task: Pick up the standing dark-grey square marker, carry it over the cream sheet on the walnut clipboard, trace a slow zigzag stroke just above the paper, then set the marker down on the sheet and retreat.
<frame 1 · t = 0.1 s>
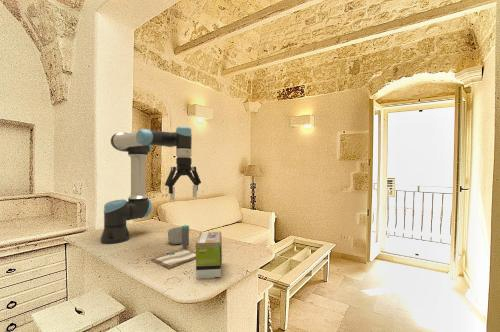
hand: (184, 198, 122), 28 cm above the worktop, fingers open, 13 cm apart
clipboard: (177, 258, 115), on the worktop
marker: (185, 248, 129), on the worktop
tea box: (209, 271, 102), on the worktop
teacup: (178, 242, 140), on the worktop
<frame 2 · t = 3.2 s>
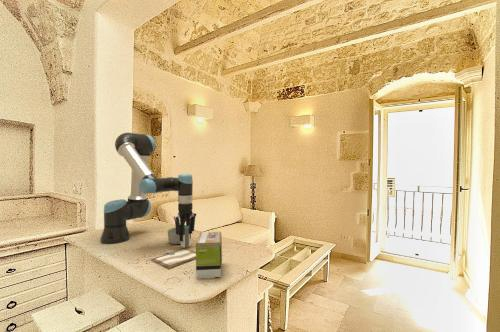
hand: (185, 246, 129), 1 cm above the worktop, fingers closed on marker, 3 cm apart
marker: (185, 247, 129), on the worktop, touching gripper
everything else where it was.
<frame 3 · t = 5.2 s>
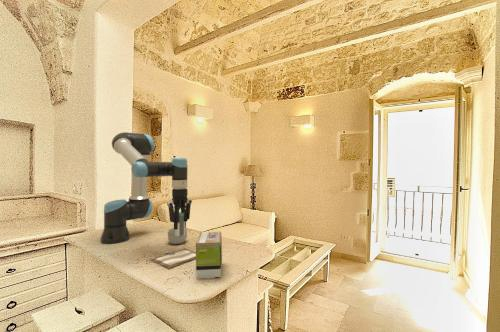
hand: (180, 234, 120), 10 cm above the worktop, fingers closed on marker, 3 cm apart
marker: (180, 236, 120), point 9 cm above the worktop, touching gripper
everything else where it was.
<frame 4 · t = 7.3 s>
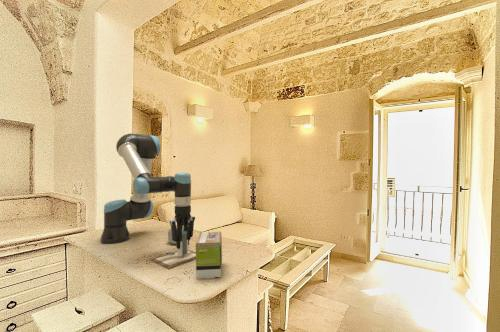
hand: (182, 253, 115), 2 cm above the worktop, fingers closed on marker, 3 cm apart
marker: (182, 256, 115), point 1 cm above the worktop, touching gripper
everything else where it was.
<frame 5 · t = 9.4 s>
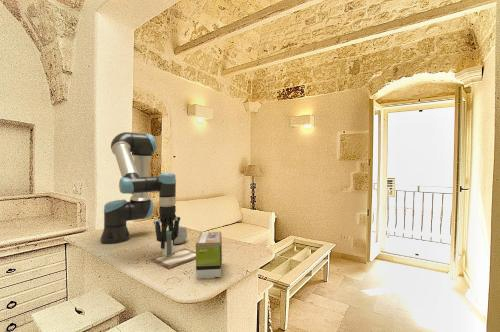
hand: (167, 253, 115), 2 cm above the worktop, fingers closed on marker, 3 cm apart
marker: (167, 256, 115), point 1 cm above the worktop, touching gripper
everything else where it was.
when the fingers open (2 cm above the worktop, at t = 11.5 s): marker stays where it is, resting on clipboard.
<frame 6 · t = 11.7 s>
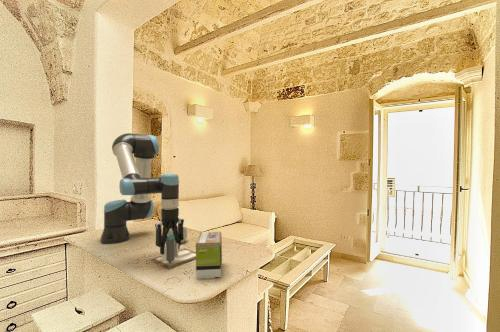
hand: (170, 258, 108), 2 cm above the worktop, fingers open, 5 cm apart
marker: (170, 262, 108), point 1 cm above the worktop, touching clipboard
everything else where it was.
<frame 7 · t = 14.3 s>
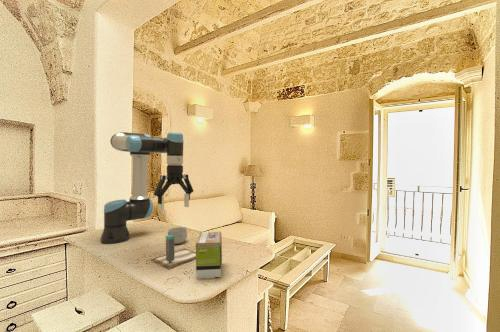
hand: (174, 208, 115), 24 cm above the worktop, fingers open, 13 cm apart
nothing on the worktop moved.
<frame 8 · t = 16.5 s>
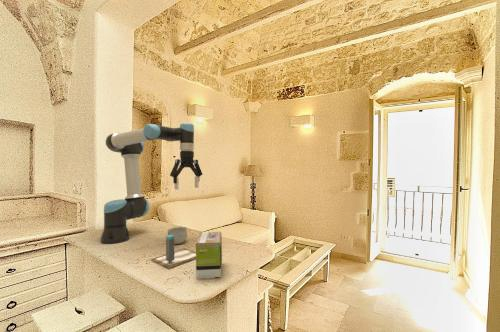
hand: (187, 188, 135), 32 cm above the worktop, fingers open, 13 cm apart
nothing on the worktop moved.
at the end: marker inside the target area on the clipboard (6.8 cm from its centre), point 0.8 cm above the clipboard's base; the gripper is holding nothing; marker moved 20.9 cm from its start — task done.
